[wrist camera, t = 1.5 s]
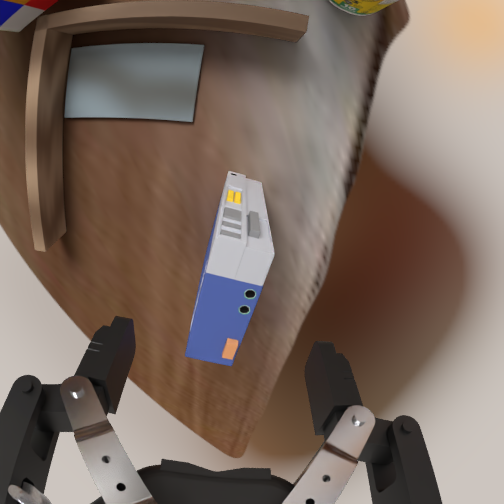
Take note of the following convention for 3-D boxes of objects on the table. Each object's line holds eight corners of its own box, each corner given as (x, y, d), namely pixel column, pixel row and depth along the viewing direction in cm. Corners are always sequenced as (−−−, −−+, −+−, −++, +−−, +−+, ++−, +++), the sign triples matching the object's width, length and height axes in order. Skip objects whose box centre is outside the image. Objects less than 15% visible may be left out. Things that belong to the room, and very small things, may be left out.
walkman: (236, 264, 27) (232, 371, 17) (205, 256, 27) (183, 361, 16) (263, 179, 24) (279, 252, 13) (228, 169, 23) (215, 235, 13)
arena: (63, 23, 16) (37, 17, 13) (298, 28, 18) (309, 16, 15) (56, 230, 25) (35, 249, 22) (256, 256, 27) (258, 282, 23)
